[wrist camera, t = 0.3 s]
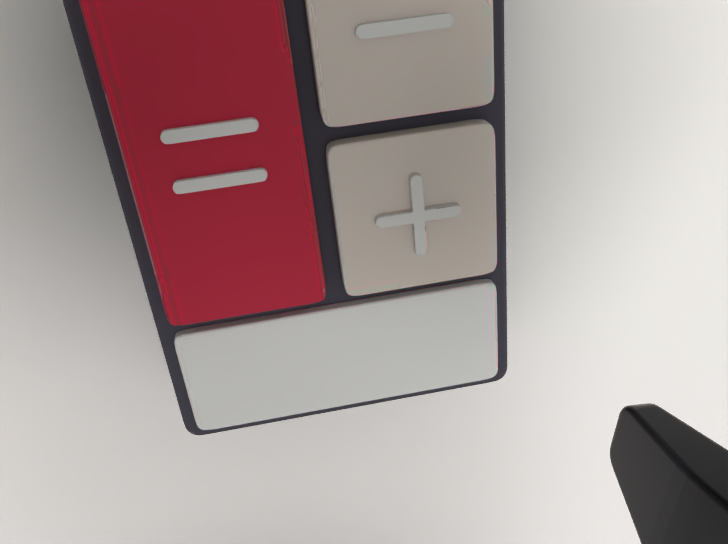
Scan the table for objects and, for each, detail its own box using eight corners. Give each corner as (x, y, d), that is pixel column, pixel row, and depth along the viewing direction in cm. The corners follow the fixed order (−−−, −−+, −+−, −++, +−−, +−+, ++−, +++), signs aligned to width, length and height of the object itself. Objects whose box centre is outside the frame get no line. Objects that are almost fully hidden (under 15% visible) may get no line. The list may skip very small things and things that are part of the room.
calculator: (515, -118, 16) (516, 394, 23) (463, -111, 20) (477, 327, 27) (33, -61, 15) (186, 456, 22) (75, -66, 19) (193, 377, 26)
